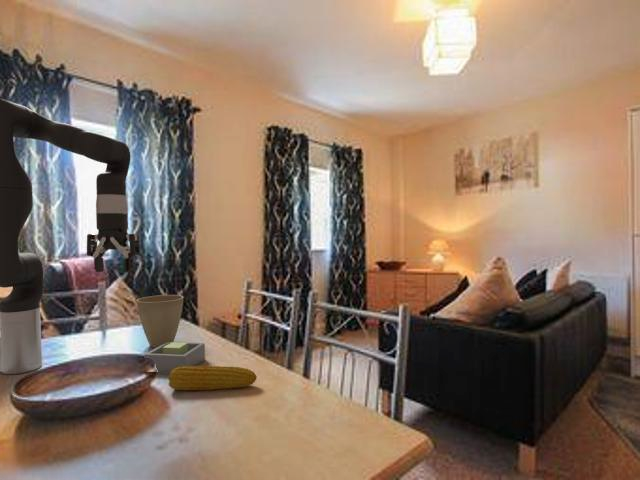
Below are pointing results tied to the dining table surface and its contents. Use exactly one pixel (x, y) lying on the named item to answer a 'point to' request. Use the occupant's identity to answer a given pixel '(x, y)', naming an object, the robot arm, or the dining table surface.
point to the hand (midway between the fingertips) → (113, 271)
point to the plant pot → (160, 317)
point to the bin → (177, 357)
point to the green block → (176, 348)
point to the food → (210, 377)
